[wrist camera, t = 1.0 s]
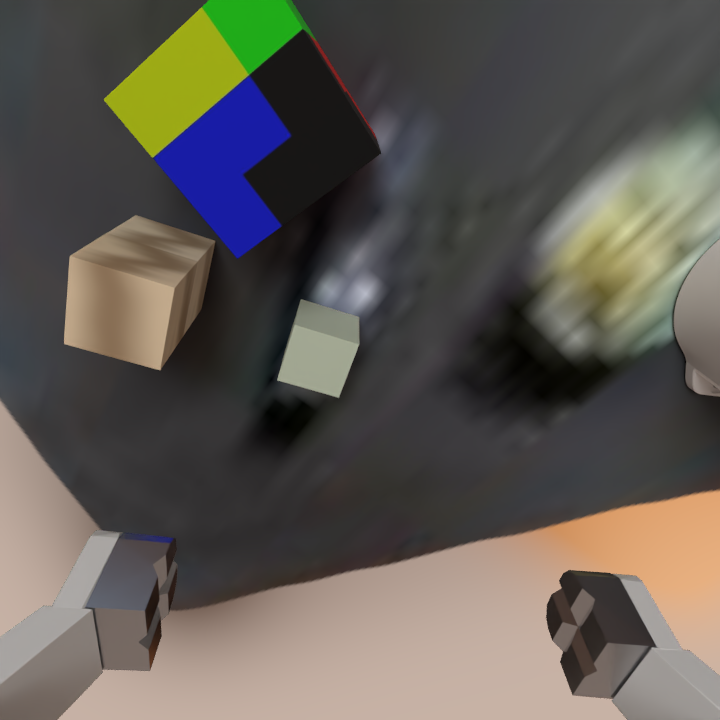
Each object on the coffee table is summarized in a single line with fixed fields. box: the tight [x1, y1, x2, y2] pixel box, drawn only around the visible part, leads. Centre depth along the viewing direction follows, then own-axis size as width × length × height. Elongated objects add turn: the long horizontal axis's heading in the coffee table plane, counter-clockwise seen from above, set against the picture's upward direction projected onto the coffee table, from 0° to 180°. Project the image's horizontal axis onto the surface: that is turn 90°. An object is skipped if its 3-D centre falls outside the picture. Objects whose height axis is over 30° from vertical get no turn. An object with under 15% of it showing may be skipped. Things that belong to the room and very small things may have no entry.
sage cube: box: [278, 299, 359, 398], centre depth 41 cm, size 5×5×5 cm
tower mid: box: [64, 233, 198, 370], centre depth 33 cm, size 6×6×5 cm
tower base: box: [108, 215, 215, 336], centre depth 38 cm, size 6×6×5 cm
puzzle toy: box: [104, 0, 381, 259], centre depth 30 cm, size 10×10×10 cm
